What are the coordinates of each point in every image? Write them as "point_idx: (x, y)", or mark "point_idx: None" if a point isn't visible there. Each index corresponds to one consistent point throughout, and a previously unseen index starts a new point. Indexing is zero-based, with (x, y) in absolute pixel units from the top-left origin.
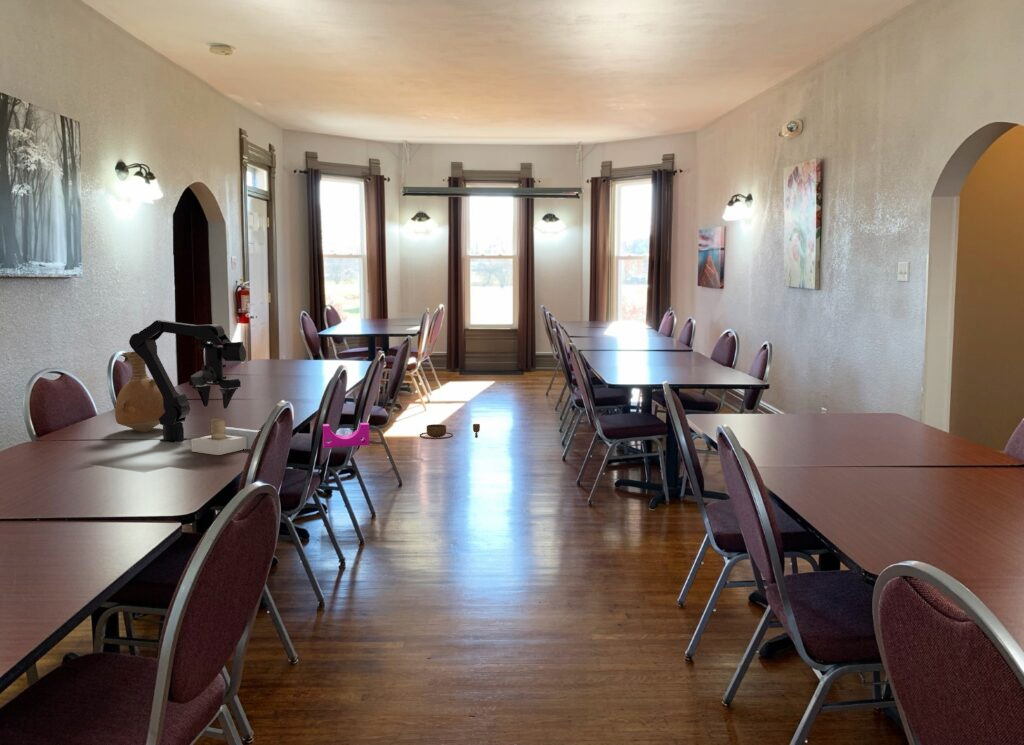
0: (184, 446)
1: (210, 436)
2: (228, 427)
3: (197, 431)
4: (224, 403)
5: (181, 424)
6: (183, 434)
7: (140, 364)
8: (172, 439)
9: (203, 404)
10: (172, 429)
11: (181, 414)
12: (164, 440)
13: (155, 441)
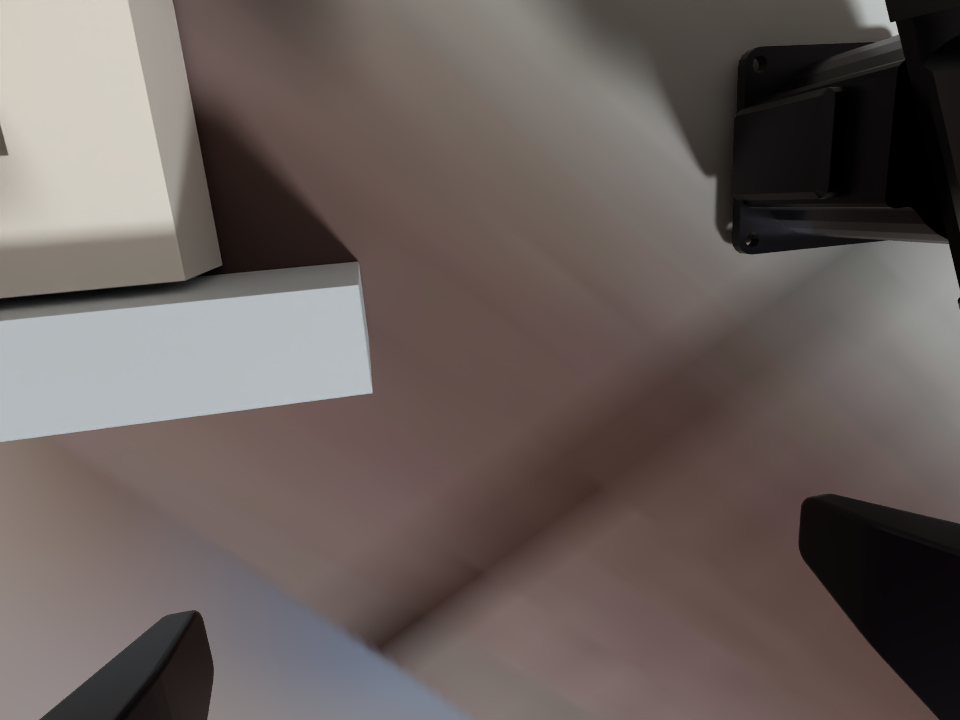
0: (517, 18)
1: (57, 27)
2: (102, 405)
3: None
4: (67, 707)
5: (873, 177)
6: (762, 189)
7: None
8: (788, 83)
9: (870, 504)
10: (876, 61)
11: (951, 65)
12: (854, 45)
13: None
